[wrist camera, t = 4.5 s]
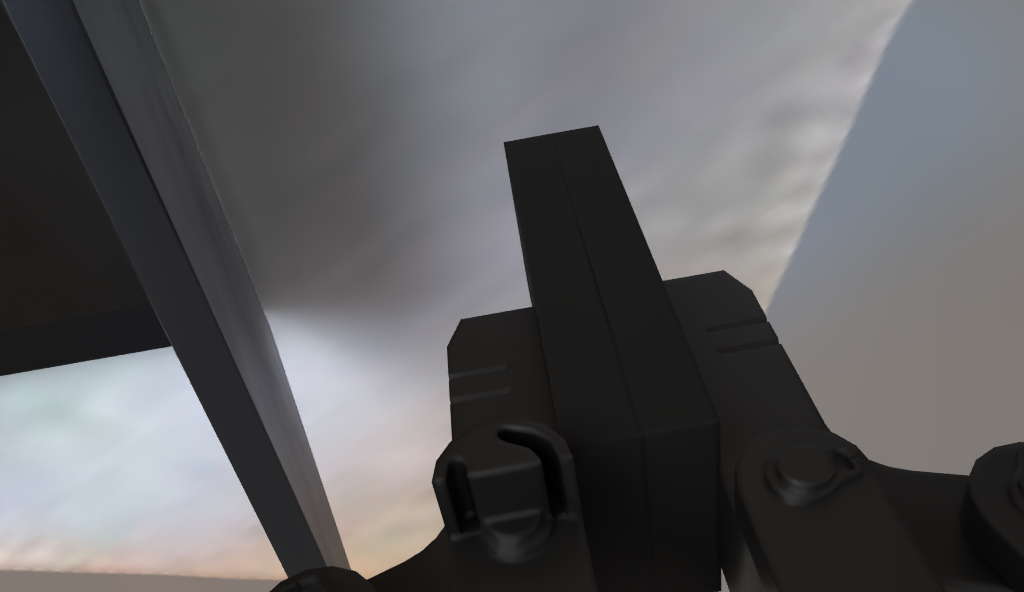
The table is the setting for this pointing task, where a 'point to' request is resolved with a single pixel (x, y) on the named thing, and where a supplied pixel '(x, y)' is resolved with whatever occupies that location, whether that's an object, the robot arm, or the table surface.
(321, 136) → the table surface
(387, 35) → the table surface
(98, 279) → the laptop
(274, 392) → the laptop screen
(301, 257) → the table surface
